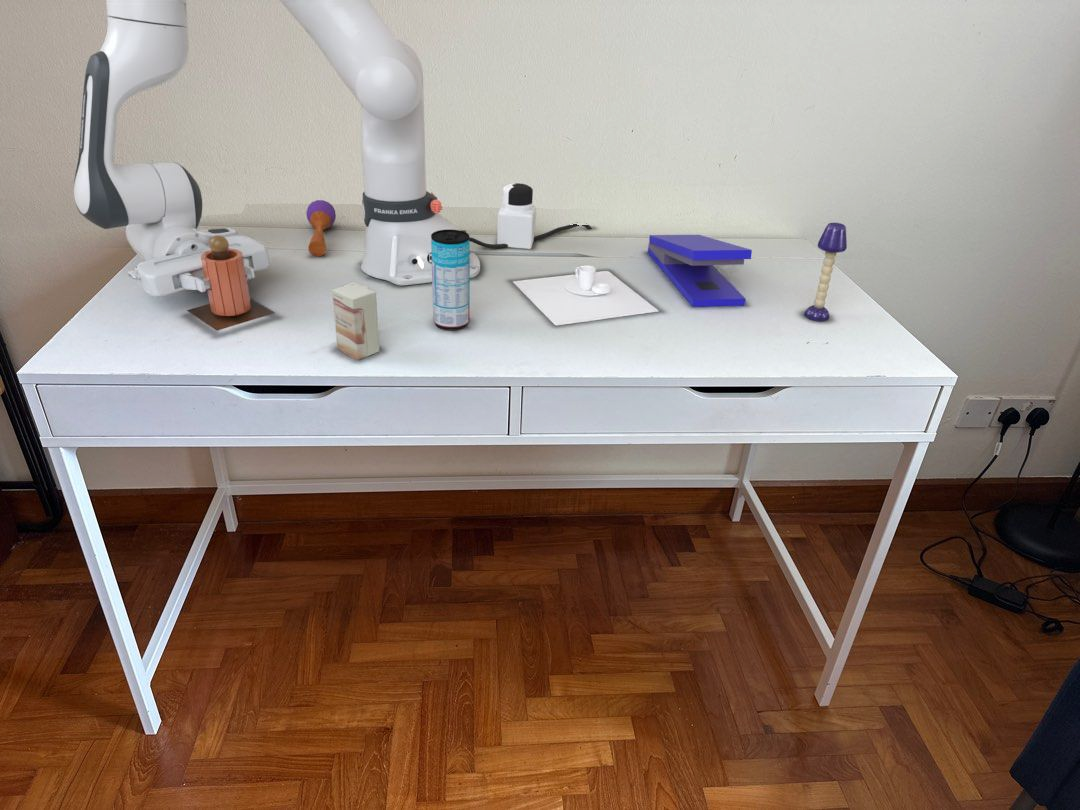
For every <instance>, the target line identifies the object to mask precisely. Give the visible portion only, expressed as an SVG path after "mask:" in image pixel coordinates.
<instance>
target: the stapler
mask: <svg viewBox="0 0 1080 810" xmlns="http://www.w3.org/2000/svg"><path fill="white" fill-rule="evenodd" d="M752 253H753V249H751V248H747V247H743V246H739V245H737V244H734V243H730V242H727V241H722V240H719V239H716V238H712V237H708V236H706V235H701V234H649V240H648V247H647V254H648V256H649V257H650V258H651V259H652V261H653V262H654V263H655V264H656V265H657V266H658V267H659V269H660V270H661V271H662V272H663V273H664V275H665V276H666V277H667V279H669V281H670V282H671V283H672V284H673V285H674V286H675V288H676V289H677V290H678V291H679V292H680V294H681V295H682V296H683V297H684V298H685V300H686V301H687V302H688V303H689V304H690V306H691V307H692V308H701V307H703V308H704V307H732V306H733V307H734V306H735V307H736V306H745V304H746V300H747V299H746V297H745V296H744V295H742V293H741V292H740V291H739V290H738V289H737V288H736V287H735V286H734V285H733V284H732V283H731V282H730V281H728V279H727V278H725V276H724V275H723V274H722V273H721V272H720V271H719V270H718V269H716V268H715V266H743V265H745V260H752Z"/></svg>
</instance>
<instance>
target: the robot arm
mask: <svg viewBox="0 0 1080 810" xmlns="http://www.w3.org/2000/svg"><path fill="white" fill-rule="evenodd" d="M105 1H106V2H105V4H106V16H107V18H106V19H107V26H106V27H107V29H106V35H105V39H104V41H103V44H102V46H101V48H100V49H99V51H97V52H95V53H93V54H91V55H90V56H89V59H88V61H87V64H86V67H85V68H86V69H85V74H84V81H83V92H82V101H81V102H82V104H81V117H80V118H81V119H80V134H79V149H78V158H77V159H78V160H77V165H76V170H75V174H74V181H73V197H74V203H75V206H76V209H77V211H78V212H79V214H80V215H81V216H82V217H84V218H85V219H86V220H88V221H89V222H90V223H91V224H94V225H96V226H97V227H99V228H101V229H104V230H109V229H116V228H121V227H125V236H126V240H127V242H128V245H130V247H131V249H132V251H134V252H135V253H136V255H137V256H138V257H139V258H141V259H142V260H143V261H140V262H139V263H138V264H136V266H134V267H133V269H131V270H128V276H129V277H130V278H131V280H134V281H136V282H137V281H138V282H139V283H140V285H141V287H142V289H143V290H144V291H145V292H146V293H147V294H148V295H149V296H152V297H164V296H167V295H168V296H169V295H171V294H174V293H178V292H182V291H186V290H190V291H191V290H192V291H199V292H200V293H205V292H207V291H209V290H211V286H210V284H211V283H210V281H209V280H208V279H206V278H205V277H204V272H203V267H202V262H201V255H202V254H203V253H205V252H207V251H210V250H211V249H210V246H209V241H210V239H211V238H212V237H214V236H217V235H220V236H223V237H225V238H226V239H227V241H228V243H229V248H230V249H236V250H239V251H241V252H242V253H243V259H244V265H245V271H246V277H247V281H250V280H253V279H256V275H255V272H258V271H261V270H265V269H268V268H269V267H270V255H269V250H268V247H267V246H266V245H265V244H263V243H262V242H260V241H258V240H256V239H254V238H252V237H249V236H247V235H242V234H238V232H237V230H236V229H234V228H231V227H228V228H227V227H226V228H209V229H207V228H206V229H205V228H198V227H199V225H200V222H201V219H202V215H203V196H202V192H201V187H200V186H199V184H198V182H197V181H196V179H195V178H194V177H193V175H192V174H191V173H190V172H189V171H188V170H187V169H186V167H184V166H183V165H181V164H180V163H178V162H143V163H142V162H141V163H140V162H139V163H116V162H115V153H116V143H117V142H116V141H117V131H118V130H117V129H118V117H119V113H120V110H121V108H122V106H123V105H124V104H125V103H126V102H127V101H128V100H130V99H131V98H132V97H134V96H136V95H137V94H140V93H142V92H145V91H147V90H150V89H153V88H156V87H159V86H162V85H165V84H166V83H168V82H170V81H171V80H173V79H175V78H176V77H177V76H178V75H180V73H181V72H182V71H183V69H184V68H185V66H186V64H187V62H188V58H189V49H190V48H189V45H190V43H189V27H188V13H187V12H188V11H187V0H105ZM279 2H281V4H282V5H283V6H284V7H285V8H286V10H287V11H288V13H290V14H291V15H292V17H293V18H294V19H295V20H296V21H297V22H298V24H299V25H300V26H301V27H302V28H303V30H304V31H305V32H306V34H308V35H309V37H310V38H311V39H312V40H313V42H314V43H315V45H317V47H318V49H319V50H320V51H321V52H322V54H323V56H324V57H325V58H326V60H327V62H329V64H330V66H331V67H332V68H333V70H334V71H335V72H336V74H337V75H338V76H339V78H340V79H341V80H342V82H343V83H344V85H345V86H346V87H347V88H348V90H349V91H350V93H351V94H352V95H353V96H354V97H355V98H356V100H357V102H358V103H359V104H360V133H361V134H360V135H361V136H360V138H361V142H360V143H361V145H360V146H361V161H362V164H361V165H362V176H363V177H362V178H363V187H364V188H363V190H364V191H363V192H362V199H361V206H362V207H361V209H362V219H363V221H364V225H365V236H364V238H365V240H364V250H363V256H362V261H361V265H360V269H361V271H362V272H363V273H364V274H366V275H368V276H370V277H372V278H375V279H379V280H383V281H387V282H390V283H392V284H393V285H397V286H402V287H403V286H412V285H421V284H427V283H428V284H429V283H430V284H431V283H432V254H431V234H432V233H434V232H436V231H439V230H448V229H451V230H460V231H464V232H466V233H467V230H465V229H460V227H458V226H457V225H455V224H454V223H453V222H452V221H450V220H449V219H447V218H446V217H444V216H443V215H442V214H441V212H442V211H443V205H442V203H441V201H440V200H439V199H438V197H437V196H435V194H434V193H433V191H432V192H429V191H428V190H427V173H426V139H425V138H426V137H425V134H426V133H425V98H424V97H425V96H424V71H423V70H424V69H423V66H422V62H421V60H420V57H419V56H418V54H417V53H416V52H415V50H414V49H413V48H412V47H411V46H410V45H409V44H407V43H406V42H404V41H402V40H399V39H397V37H396V36H395V34H394V33H393V32H392V31H391V29H390V27H388V26H387V23H386V22H385V21H384V20H383V18H382V17H381V16H380V14H379V12H378V11H377V9H376V8H375V7H374V6H373V3H372V2H371V1H370V0H279ZM572 224H573V223H572ZM576 227H580V226H579V225H577V224H573V225H570V224H567V225H563V226H559V227H556V228H554V229H552V230H550V231H547V232H544V233H541V234H539V235H535V237H534V240H533V242H536V241H538V240H539V241H540V240H543V239H545V238H548V237H551V236H552V235H555V234H556V233H559V232H562V231H566V230H570V229H574V228H576ZM581 227H584V228H586V229H587V230H592V226H591V225H589V224H588V225H582V226H581ZM469 243H473V244H475V245H478V246H480V247H482V248H486V249H504V248H505V249H506V248H509V247H508V245H507V244H497V243H495V244H493V243H486V242H483V241H481V240H479V239H477V238H474V237H472V236H469ZM480 272H481V262H480V259H479V257H478V255H476V253H475V252H473V251H472V250H470V279H473V278H476V277H477V276H478V275H479V274H480Z"/></svg>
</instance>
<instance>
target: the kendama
mask: <svg viewBox="0 0 1080 810" xmlns="http://www.w3.org/2000/svg"><path fill="white" fill-rule="evenodd" d="M305 214H306V219H307V221H308V223H309V224H310V225H311V226H312V227H313V228H314V233H313V235H312V237H311V239H310V241H309V244H308V247H307V248H308V252H309V253H310V255H312V256H314V257H321V256H324V255H325V254H326V253H327V252H326V251H327V246H326V240H325V239H326V238H325V234H324V231H325V230H327V229H329V228H331V227H332V226H333V225H334V224H335V222H336V217H337V214H336V210H335V208H334V206H333V205H332V204H331V203H330V202H329V201H326V200H324V199H318V200H314V201H311V203H310V204H308V206H307V209H306V212H305Z"/></svg>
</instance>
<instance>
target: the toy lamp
mask: <svg viewBox="0 0 1080 810" xmlns="http://www.w3.org/2000/svg"><path fill="white" fill-rule="evenodd" d="M847 239H848V238H847V226H846V225H845V224H843V223H841V222H828V223H827V225H826V226H825V228H824V230H823V232H822V234H821V236H820V238H819V240H818V242H817V248H818V249H819V250H821V251H824V258H823V261H822V264H823V266H822V267H821V274H820V276H819V282H818V284H817V291H816V292H815V299H814V302H813V305H810V306H808V307H807V308H806V309H805V311H804V313H803V315H804V317H805V318H807V319H808V320H810V321H814V322H827V321H829V319H830V312H829V310H828V309H827V308H826V307H825V305H826V298H827V296H828V290H829V287H830V284H829V283H830V282H831V279H832V277H831V275H832V273H833V270H834V269H833V268H834V267H833V266H834V265H835V258H836V257H837V253H843V252H845V251H846V250H847V248H848V247H847V246H848V243H847Z"/></svg>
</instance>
